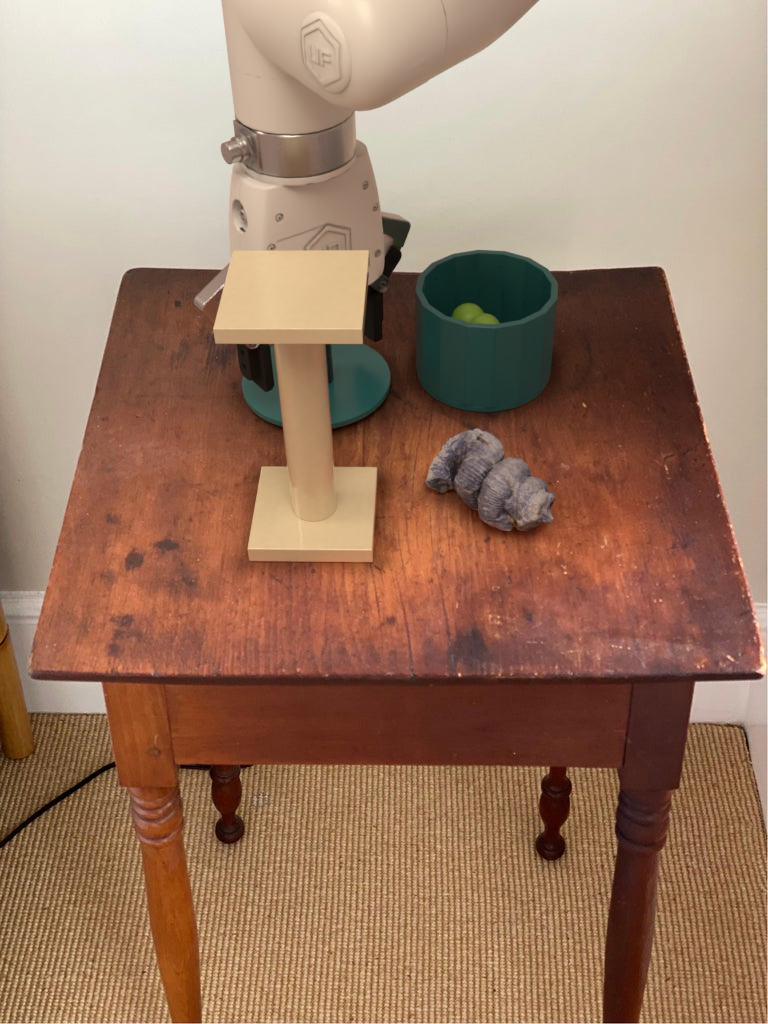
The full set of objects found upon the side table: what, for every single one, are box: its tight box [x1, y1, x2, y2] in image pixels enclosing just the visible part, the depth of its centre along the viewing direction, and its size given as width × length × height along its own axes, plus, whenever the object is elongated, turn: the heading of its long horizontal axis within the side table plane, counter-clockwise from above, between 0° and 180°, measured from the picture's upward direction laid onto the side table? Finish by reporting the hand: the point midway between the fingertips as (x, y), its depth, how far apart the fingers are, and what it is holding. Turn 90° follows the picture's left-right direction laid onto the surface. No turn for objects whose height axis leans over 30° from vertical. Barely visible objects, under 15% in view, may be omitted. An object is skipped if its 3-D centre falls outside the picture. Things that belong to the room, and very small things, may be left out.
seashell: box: [424, 427, 556, 532], centre depth 74 cm, size 5×5×10 cm
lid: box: [241, 343, 392, 430], centre depth 84 cm, size 11×11×7 cm
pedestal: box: [212, 250, 379, 563], centre depth 69 cm, size 8×8×18 cm
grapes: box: [452, 303, 500, 324], centre depth 85 cm, size 6×5×4 cm
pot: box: [414, 249, 559, 413], centre depth 84 cm, size 10×10×8 cm
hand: (314, 356), depth 84 cm, fingers open, 9 cm apart
